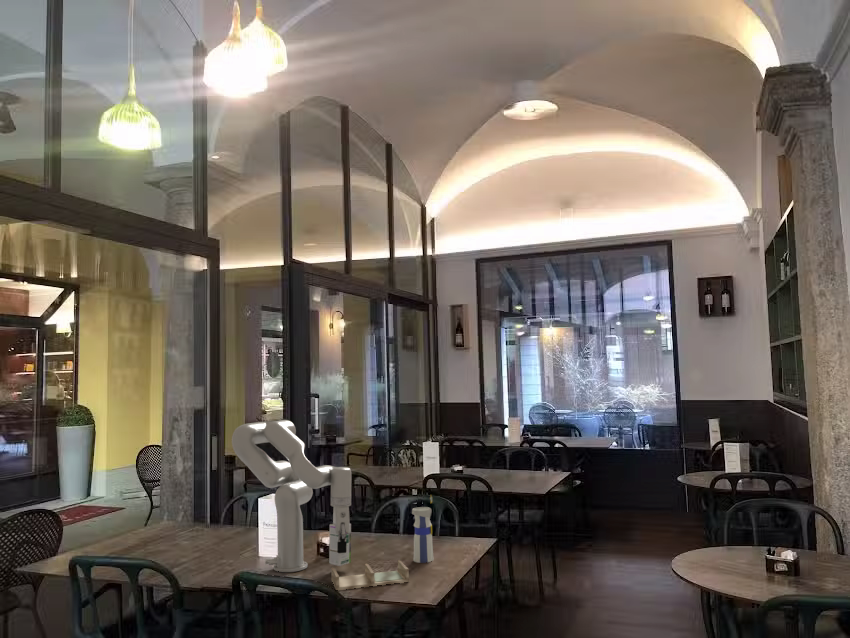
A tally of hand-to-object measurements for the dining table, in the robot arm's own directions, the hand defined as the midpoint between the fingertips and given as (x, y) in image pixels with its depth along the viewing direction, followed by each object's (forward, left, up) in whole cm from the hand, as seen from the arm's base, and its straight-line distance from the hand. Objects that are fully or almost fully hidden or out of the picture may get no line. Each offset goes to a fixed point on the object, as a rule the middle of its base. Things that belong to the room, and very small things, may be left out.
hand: (340, 549), depth 248 cm
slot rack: (+8, -17, -8) cm, 20 cm away
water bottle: (+33, +3, -8) cm, 34 cm away
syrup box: (0, 0, -5) cm, 5 cm away
